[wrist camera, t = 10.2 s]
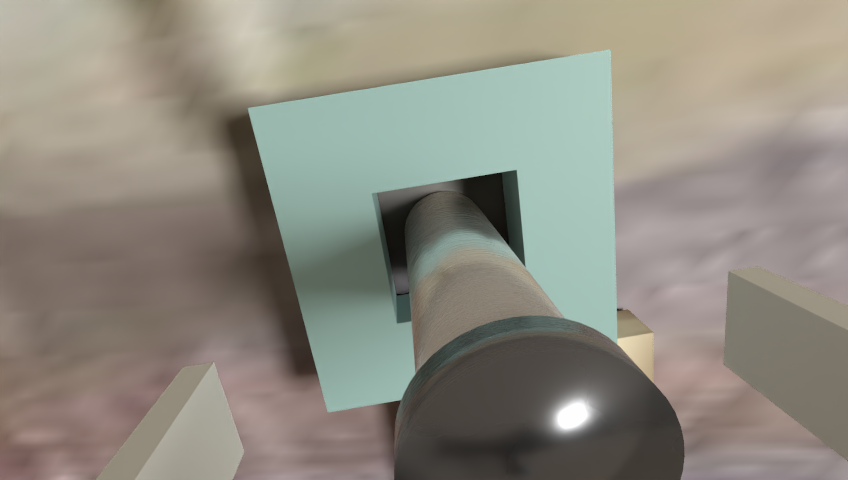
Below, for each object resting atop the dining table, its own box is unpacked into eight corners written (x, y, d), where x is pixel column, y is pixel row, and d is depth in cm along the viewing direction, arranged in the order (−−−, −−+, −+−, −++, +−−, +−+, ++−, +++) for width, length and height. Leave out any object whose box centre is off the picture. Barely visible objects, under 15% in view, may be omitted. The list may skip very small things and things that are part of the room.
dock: (335, 375, 24) (327, 412, 21) (268, 106, 20) (247, 107, 17) (591, 331, 24) (618, 363, 22) (579, 56, 20) (610, 49, 17)
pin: (403, 285, 23) (418, 606, 8) (386, 189, 21) (369, 379, 7) (500, 270, 23) (680, 562, 8) (490, 173, 21) (689, 327, 7)
